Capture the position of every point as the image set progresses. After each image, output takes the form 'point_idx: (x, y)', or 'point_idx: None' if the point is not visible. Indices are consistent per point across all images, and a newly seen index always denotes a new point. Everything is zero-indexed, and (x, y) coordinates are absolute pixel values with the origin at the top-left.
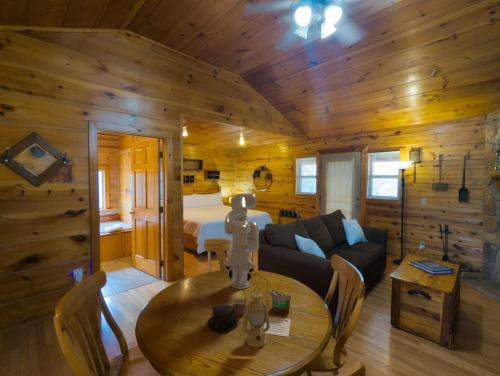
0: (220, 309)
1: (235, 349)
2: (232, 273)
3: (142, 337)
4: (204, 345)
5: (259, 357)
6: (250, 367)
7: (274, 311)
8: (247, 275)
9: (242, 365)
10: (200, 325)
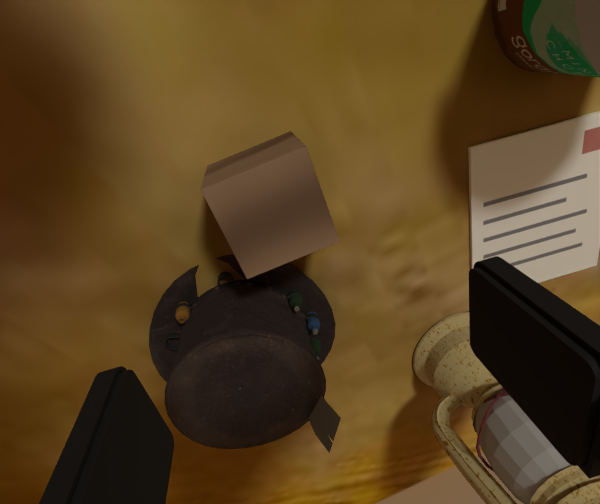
0: (231, 407)
1: (394, 424)
2: (110, 448)
3: None
4: (273, 466)
5: None
6: (469, 448)
7: (513, 59)
8: (551, 434)
9: (444, 455)
10: None
